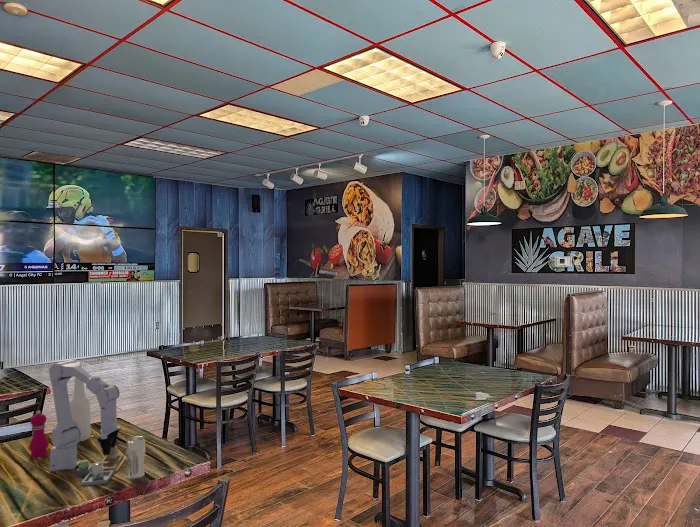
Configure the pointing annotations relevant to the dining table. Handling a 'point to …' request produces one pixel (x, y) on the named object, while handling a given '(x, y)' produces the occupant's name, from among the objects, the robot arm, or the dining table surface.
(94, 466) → the cylinder
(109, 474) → the tray
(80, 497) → the dining table surface
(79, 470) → the switch box
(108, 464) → the light brown divided box
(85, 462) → the button
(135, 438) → the beer glass
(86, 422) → the alcohol
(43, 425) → the pepper mill
